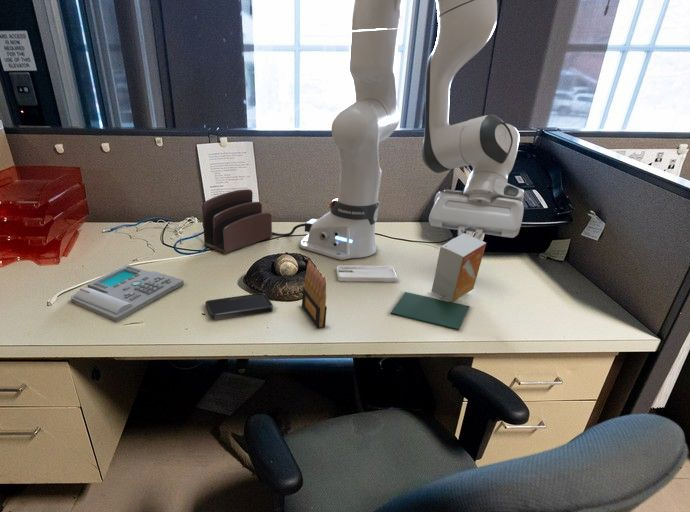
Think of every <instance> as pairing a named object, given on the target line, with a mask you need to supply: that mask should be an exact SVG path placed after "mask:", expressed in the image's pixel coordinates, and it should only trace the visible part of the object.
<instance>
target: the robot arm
mask: <svg viewBox="0 0 690 512" xmlns="http://www.w3.org/2000/svg"><path fill="white" fill-rule="evenodd" d="M405 1H406V0H354V5H353V12H352V18H351V29H350V30H351V32H350V43H349V61H348V72H349V73H348V74H349V75H350V77H351V79H352V83H353V90H354V101H353V102H351V103H349V104H347V105H346V106H344V107H343V108H342V109H341V110H340V111H339V112H338V113H336V115H335V117H334V118H333V121H332V124H331V137H332V140H333V142H334V145H335V146H337V152H338V160H339V183H338V192H337V195H336V196H335V197H334V199H333V200H331V202H329V203H328V208H329V209H330V211H328V212H327V213H325V214H323V215H322V216H321V217H319V218H310V219H309V220H307V221H306V222H304V223H300V224H297V225H295V226H294V227H293V228H292V230H290V232H287V233H277V232H273V231H272V236H280V237H281V236H282V237H290V236H292V235H293V234H294V233H295V231H296V230H297V229H298V228H301V227H304V232H307V233H308V234H307V235H306V236H304V237H303V238H302V239H301V241H300V244H299V247H300V249H303V250H306V251H309V252H312V253H317V254H320V255H323V256H327V257H330V258H333V259H336V260H340V261H345V260H348V259H357V258H367V257H371V256H372V255H374V254H376V252H377V246H376V223H377V220H378V216H379V205H380V201H379V196H380V189H381V183H382V182H381V181H382V175H383V171H382V169H381V166H380V158H379V157H380V156H379V146H380V143H381V142H384V141H385V140H387V139H388V138H390V137H391V135H392V134H393V133H394V132H395V131H396V129H397V128H398V126H399V124H400V120H401V111H400V110H401V109H400V107H399V105H398V94H397V93H398V91H397V77H396V76H397V74H396V73H397V59H398V49H399V41H400V31H401V29H400V28H401V22H402V14H403V13H402V12H403V8H404V3H405ZM435 3H436V10H437V11H436V13H437V23H438V24H437V25H438V26H437V37H436V41H435V45H434V48H433V50H432V52H431V53H430V55H429V57H428V59H427V63H426V64H427V65H426V73H425V74H426V75H425V100H424V101H425V102H424V103H425V105H424V133H423V140H422V145H421V159H422V162H423V163H424V165H425V166H426V167H427V168H428V169H429V170H430V171H431V172H433V173H436V174H442V173H445V172H448V171H451V170H454V169H458V168H464V167H467V166H471V168H472V171H471V172H470V174H469V176H468V177H467V180H466V183H465V186H464V188H463V190H456V189H455V190H452V189H448V188H446V189H444V190H441V191H438V192H437V193H436V194H435V196H434V198H433V205H432V208H431V210H430V213H429V216H428V222H429V224H430V226H431V227H437V228H442V229H448V230H455V231H456V230H457V237H458V236H459V235H461V234H463V233H465V232H469V233H475V234H474V236H473V237H474V238H476V239H479V240H481V238H482V236H483V234H484V235H488V236H489V235H491V236H496V237H497V236H498V237H502V238H510V239H513V238H515V237H517V236H518V235H519V234H520V230H521V227H522V222H523V217H524V212H525V211H524V209H525V207H524V203H523V202H524V198H525V191H524V189H523V188H520V187H517V186H516V185H513V184H510V183H508V182H509V181H508V180H509V175H510V173H511V172H512V170H513V168H514V165H515V162H516V159H517V155H518V149H519V144H520V133H519V130H518V129H517V128H516V127H515V126H513V125H512V124H510V123H506V122H505V121H503V119H502V118H500V117H499V116H497V115H495V114H487V115H482V116H478V117H475V118H470V119H468V120H465V121H461V122H458V123H455V124H450V123H449V122H450V121H449V118H450V117H449V116H450V95H451V90H450V89H451V85H452V82H453V80H454V78H455V76H456V75H457V73H458V72H459V70H460V69H462V67H463V66H464V65H466V63H467V64H468V62H469V61H470V60H471V59H473V58H474V57H475V56H476V55H477V54H478V53H479V52H480V51H481V50H482V49H483V48H484V47H485V46H486V45H487V44H488V42H489V40H491V37H492V35H493V33H494V31H495V29H496V26H497V22H498V21H497V20H498V1H497V0H435Z"/></svg>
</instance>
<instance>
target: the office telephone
mask: <svg viewBox="0 0 690 512" xmlns="http://www.w3.org/2000/svg"><path fill="white" fill-rule="evenodd" d="M184 284H185V283H184V279H181V278H178V277H175V276H173V275H168V274H165V273H161V272H158V271H154V270H150V271H149V270H145V269H141V268H138V267H134V266H131V265H130V264H125V265H124V266H121V267H119V268H116V269H115V270H112V271H110V272H108V273H106V274H104V275H102V276H100V277H97V278H95V279H93V280H91V281H90V282H88V283H86V285H87V287H84V288H80V289H79V290H78V291H76V292H75V293H74V294H72V295H71V296H70V300H71V302H72V303H74V304H75V305H78V306H80V307H82V308H85V309H86V310H88V311H90V312H93V313H95V314H98V315H100V316H102V317H105V318H107V319H109V320H111V321H114V322H115V323H117V322H120V321H121V320H123V319H125V318H127V317H128V316H130V315H132V314H133V313H135V312H137V311H139V310H141V309H142V308H144V307H146V306H147V305H149V304H151V303H153V302H154V301H156V300H158V299H159V298H161V297H163V296H165V295H166V294H168V293H170V292H172V291H174V290H175V289H178V288H180V287H181V286H183V285H184Z"/></svg>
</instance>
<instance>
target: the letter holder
mask: <svg viewBox="0 0 690 512" xmlns="http://www.w3.org/2000/svg"><path fill="white" fill-rule="evenodd" d="M253 194H254V193H253V190H252V189H250V188H247V189H237V190H232V191H228V192H225V193H223V194H220V195H216V196H214V197H211V198H209V199H207V200H205V201H204V202H203V203H202V205H201V213H202V228H203V244H204V247H207V248H209V249H213V250H214V251H217V252H219V253H222V254H223V255H226V254H229V253H231V252H235V251H237V250H240V249H243V248H245V247H248V246H251V245H253V244H256V243H259V242H262V241H265V240H268V239H270V238H272V237H273V235H272V232H273V230H272V229H273V223H272V222H273V217H272V213H271V212H263V203H262V202H261V201H253V196H254V195H253Z"/></svg>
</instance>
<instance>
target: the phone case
mask: <svg viewBox="0 0 690 512" xmlns="http://www.w3.org/2000/svg"><path fill="white" fill-rule="evenodd" d="M335 271H336V276H337V281H339V282H365V283H367V282H368V283H370V282H373V283H374V282H376V283H377V282H378V283H396V282H397V281H398V275H397V273H396V271H395V268H394V266H392V265H341V264H339V265H336V268H335ZM341 271H342V272H341Z"/></svg>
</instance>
